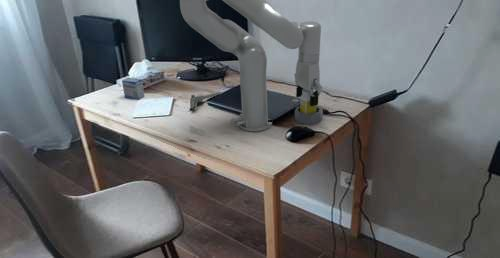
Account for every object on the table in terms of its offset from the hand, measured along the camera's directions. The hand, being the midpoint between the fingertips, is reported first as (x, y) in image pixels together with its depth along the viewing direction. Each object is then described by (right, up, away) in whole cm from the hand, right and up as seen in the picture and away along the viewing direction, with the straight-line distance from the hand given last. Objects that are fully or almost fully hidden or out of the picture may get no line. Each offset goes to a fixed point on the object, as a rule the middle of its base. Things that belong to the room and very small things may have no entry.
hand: (306, 100), depth 160 cm
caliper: (-40, +1, +25) cm, 47 cm away
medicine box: (-74, +4, +33) cm, 81 cm away
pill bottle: (+1, -6, +3) cm, 7 cm away
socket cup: (+1, -7, +3) cm, 8 cm away
